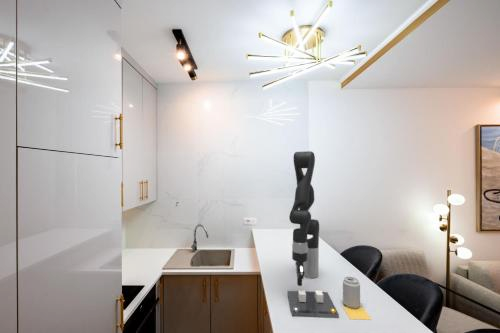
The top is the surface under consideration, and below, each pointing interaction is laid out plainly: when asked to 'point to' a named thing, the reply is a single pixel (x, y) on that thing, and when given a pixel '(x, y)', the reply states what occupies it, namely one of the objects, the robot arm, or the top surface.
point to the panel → (312, 305)
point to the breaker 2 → (319, 296)
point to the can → (351, 292)
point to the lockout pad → (356, 313)
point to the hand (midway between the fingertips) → (299, 285)
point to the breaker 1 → (302, 295)
